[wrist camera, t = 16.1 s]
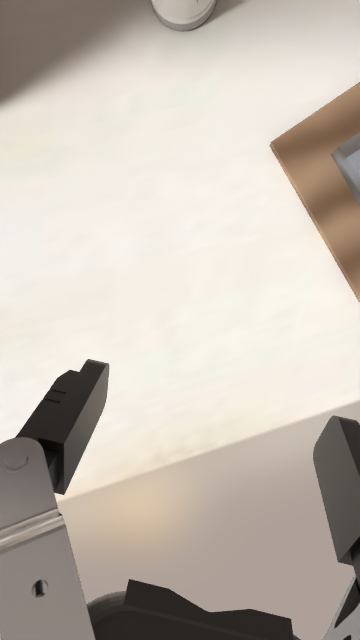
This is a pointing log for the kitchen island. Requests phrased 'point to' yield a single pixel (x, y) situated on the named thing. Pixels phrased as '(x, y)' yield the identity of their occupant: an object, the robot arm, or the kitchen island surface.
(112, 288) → the kitchen island surface
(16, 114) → the kitchen island surface
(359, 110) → the mount
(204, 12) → the travel mug
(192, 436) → the kitchen island surface
